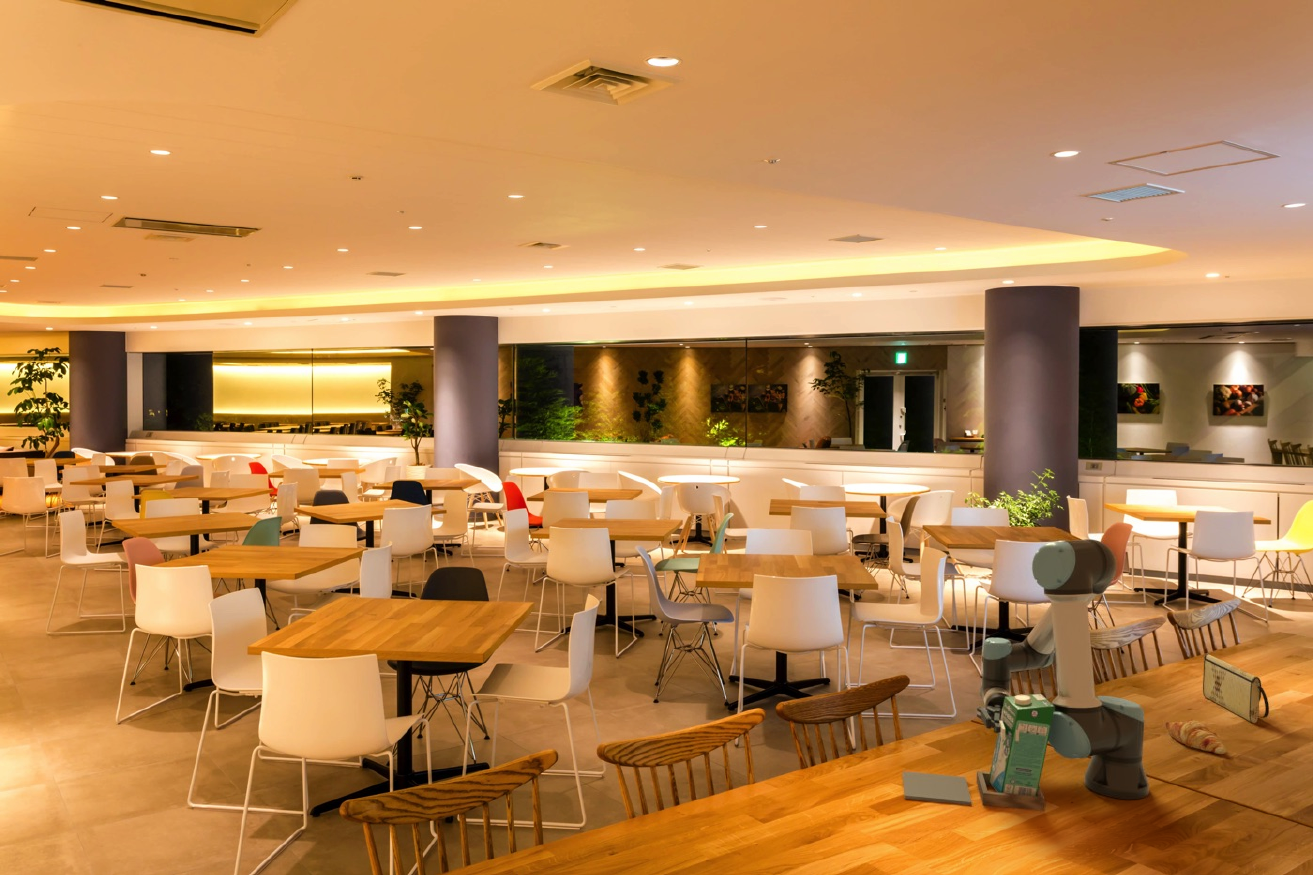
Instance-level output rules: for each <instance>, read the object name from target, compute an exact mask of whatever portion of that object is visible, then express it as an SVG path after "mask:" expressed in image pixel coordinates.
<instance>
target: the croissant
mask: <svg viewBox="0 0 1313 875" xmlns="http://www.w3.org/2000/svg"><path fill="white" fill-rule="evenodd" d="M1165 728H1166V729H1167V730H1168V733H1169V735H1170V736H1171V737H1172V738H1173V739H1175V741H1176V742H1178V743H1180V744H1183V745H1184V744H1185V745H1184V746H1186V747H1189V748H1192V747H1193V748H1192V749H1196V750H1201V751H1205V752H1209V753H1210V752H1211V753H1213V754H1216V755H1224V754H1226V753H1227V749H1226V746H1225V744H1224V742H1222V741H1221V739H1220V737H1219V736H1218V734H1217V733H1215V732H1214V731H1211V730H1210V729H1209V728H1208V726H1207V725H1206V724H1203V723H1201V722H1200V721H1197V720H1193V719H1188V720H1186V721H1185V720H1183V721H1180V722H1177V721H1172V722H1170V721H1166V722H1165Z"/></svg>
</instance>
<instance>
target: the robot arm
mask: <svg viewBox="0 0 1313 875" xmlns="http://www.w3.org/2000/svg"><path fill="white" fill-rule="evenodd" d="M1117 565H1118V563H1117V558H1116V556H1115V554H1114V551H1113V550H1112V549H1111V548H1110V547H1109V546H1108V545H1106V544H1105V543H1104V542H1102V541H1099V540H1096V539H1091V538H1089V539H1086V538H1085V539H1078V540H1075V539H1074V540H1058V541H1053V542H1048V543H1045V544H1044V545H1042V546H1040V547H1039V548H1038V550H1037V551H1036V552H1035V553H1034V556H1033V558H1032V563H1031V571H1032V575H1033V578H1034V580H1035V581H1036V583H1037V584H1038V585H1039V586H1040V587H1041V588H1043V594H1044V596H1045V597H1047V599H1049V601H1050V605H1049V606H1048V607H1047V609H1046V611H1045V612H1044V614H1043V615H1042V616H1041V618H1039V620H1038V622H1037V623H1036V625H1035V626H1034V627H1033V628H1032V630H1031V631H1030V633H1029V634H1028V635H1027V636H1026V637H1025V639H1024V640H1023V641H1022V642H1020V643H1019V642H1017V643H1011V642H1012V641H1010V640H1009V639H1006V638H1003V637H988V638H986V639H984V641H983V644H982V645H983V647H982V653H981V655H982V672H981V673H982V674H981V676H982V677H981V685H980V692H979V693H980V697H981V699H982V701H983V704H984V708H983V707H981V706H977V707H976V717H977V718H978V719H980V720H981V722H982V723H983V725H984V727H985V728H987V729H989V730H991V729H992V728H993V733H995V734H998V733H999V732H1000V735H1001V738H1002V740H1005V727H1004V724H1003V721H1000V720H1001V714H1002V709H1003V704H1004V699H1005V697H1009V696H1012V695H1011V677H1012V672H1022V671H1027V670H1038V669H1043V668H1045V667H1049V666H1051V665H1052V663H1054V658H1055V668H1056V669H1055V670H1056V682H1057V693H1058V694H1057V696H1056V697H1055V698H1054V699H1052V704H1053V705H1054V706H1055V708H1054V713H1053V718H1052V723H1051V728H1050V733H1049V738H1048V743H1049V745H1050V746H1051V747H1052V748H1053V749H1054V751H1055V752H1056V753H1057V754H1059V755H1060V756H1061V757H1063V758H1066V759H1071V760H1075V759H1086V758H1088V757H1091V758H1090V761H1089V763H1088V766H1087V768H1086V770H1085V773H1084V785H1085V786H1086V787H1087V788H1088V789H1089V790H1091V791H1092V792H1095V793H1097V794H1099V795H1102V796H1105V797H1109V798H1114V799H1119V800H1141V799H1144V798H1147V797H1148V795H1149V789H1150V784H1149V780H1148V776H1147V774H1146V770H1145V768H1144V764H1143V753H1144V752H1143V751H1144V750H1143V749H1144V734H1145V732H1144V731H1145V723H1146V721H1145V711H1144V708H1143V707H1142V706H1141V705H1140V704H1138V703H1137V702H1134V701H1131V700H1129V699H1125V698H1121V697H1116V696H1109V695H1098V696H1096V693H1095V683H1094V680H1095V679H1094V669H1093V668H1094V667H1093V654H1092V645H1091V633H1090V620H1089V619H1090V618H1089V608H1088V606H1089V605H1090V604H1091V602H1092V601H1093V600H1094V599H1095V597H1096V596H1100V595H1102V594H1104V592H1106V591H1107V589H1108V587H1109V586H1110V585H1111V583H1112V582H1113V580H1114V579H1115V576H1116V573H1117ZM1015 741H1019V730H1016V737H1015Z"/></svg>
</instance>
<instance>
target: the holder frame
mask: <svg viewBox="0 0 1313 875" xmlns="http://www.w3.org/2000/svg"><path fill="white" fill-rule="evenodd" d="M989 776H990V771H981V770H976V785H978V786H977V789H978V793H979V795H980V800H981V803H982V806H990V807H992V806H993V807H999V808H1000V807H1001V808H1010V809H1021V810H1031V811H1032V810H1033V811H1042V812H1045V809H1046V808H1045V806H1046V805H1045V802H1046V801H1045V800H1046V799H1045V795H1044V794H1043V791H1042V790H1041V787H1040V786H1039V788H1038V791H1037V795H1036V796H1029V795H1018V794H1008V793H998V792H997V791H996V792H995V791H988V788H987V786H993V785H992V784H991V783H990V782H989Z"/></svg>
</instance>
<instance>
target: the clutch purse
mask: <svg viewBox="0 0 1313 875" xmlns="http://www.w3.org/2000/svg"><path fill="white" fill-rule="evenodd" d="M1202 678H1203V679H1202V680H1203V681H1202V694H1203V696H1204V698H1207V699H1209V700H1210V701H1212V702H1214V703H1215V704H1218V705H1220V706H1221V707H1222V708H1225V709H1227V710H1228V711H1230V712H1232V713H1233V714H1235V715H1237V716H1239V717H1241V718H1243V719H1245V720H1247V721H1248V722H1250V723H1251V724H1256V723H1257V722H1258V719H1259V718H1261V719H1263V718H1264V719H1266V718H1268V716H1269V713H1270V706H1269V705H1270V704H1269V700H1268V697H1267V694H1266V691H1265V690H1264V688H1263V687H1262V681H1261V678H1260V677H1258V676H1256V675H1253V674H1252V673H1249V672H1247V671H1245V670H1243V669H1241V668H1238V667H1237V666H1235V665H1232V664H1230V663H1228V662H1226V661H1224V660H1222V659H1220V658H1217V657H1215V656H1213V655H1211V654H1209V653H1206V654H1205V655H1204V661H1203V677H1202ZM1262 697H1263V701H1264V708H1265V710H1264V711H1265V712H1264V714H1263V716H1259V714H1260V701H1261V698H1262Z"/></svg>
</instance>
